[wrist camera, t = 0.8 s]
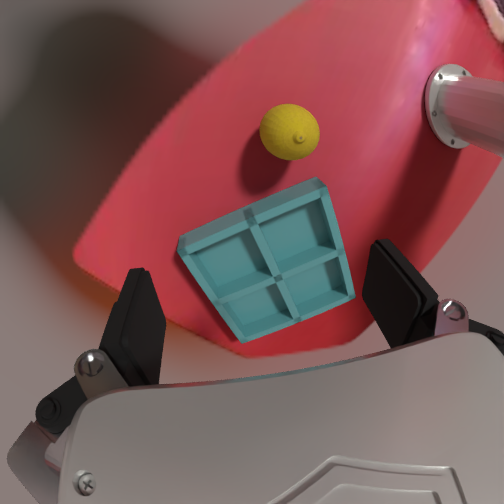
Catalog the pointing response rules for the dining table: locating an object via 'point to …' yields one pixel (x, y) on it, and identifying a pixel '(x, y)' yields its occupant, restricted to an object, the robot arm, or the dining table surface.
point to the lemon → (289, 132)
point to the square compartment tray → (271, 261)
